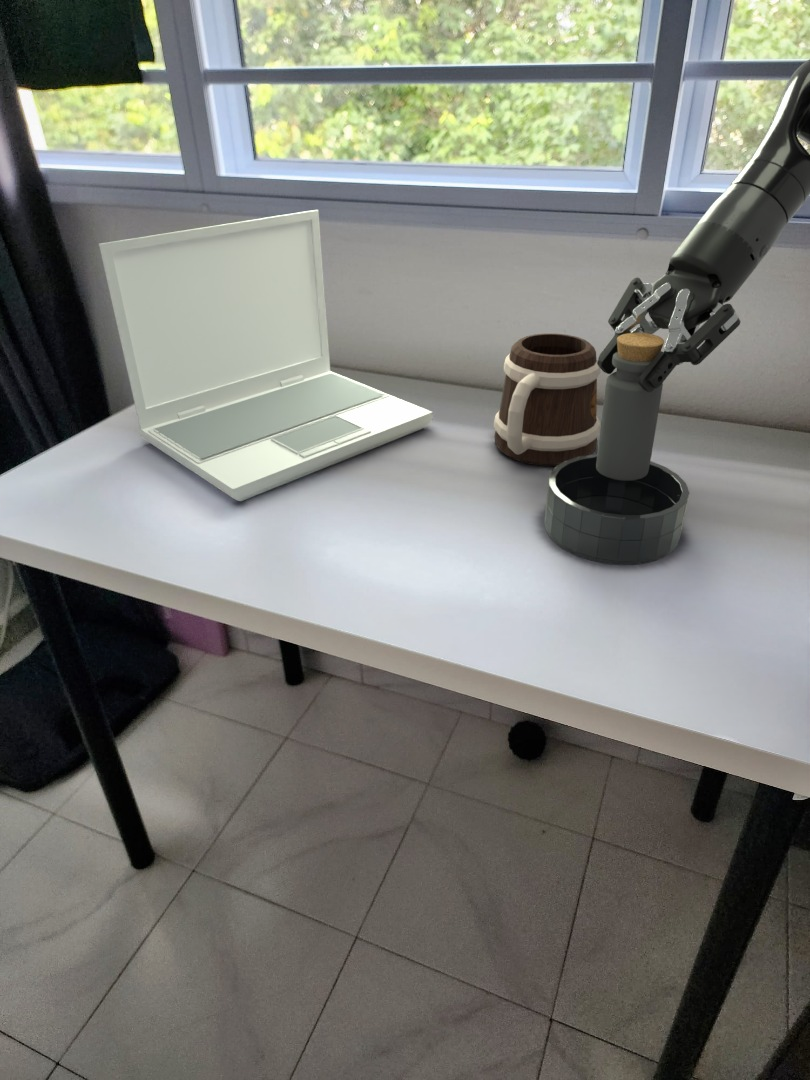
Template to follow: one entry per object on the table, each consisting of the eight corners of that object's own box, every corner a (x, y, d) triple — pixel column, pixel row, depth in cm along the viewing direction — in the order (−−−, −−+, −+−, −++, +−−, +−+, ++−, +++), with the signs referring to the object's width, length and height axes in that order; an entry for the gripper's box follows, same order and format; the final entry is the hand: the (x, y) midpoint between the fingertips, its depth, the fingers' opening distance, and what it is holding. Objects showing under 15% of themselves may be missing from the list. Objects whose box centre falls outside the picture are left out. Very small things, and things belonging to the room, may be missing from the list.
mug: (518, 417, 118) (525, 321, 109) (611, 437, 111) (626, 337, 103) (458, 467, 103) (460, 362, 95) (561, 494, 97) (573, 383, 88)
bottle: (585, 464, 86) (599, 335, 78) (626, 454, 88) (644, 327, 80) (617, 485, 82) (636, 351, 74) (659, 474, 84) (682, 342, 76)
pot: (701, 523, 90) (711, 479, 87) (640, 582, 80) (649, 534, 77) (586, 484, 99) (591, 442, 96) (519, 532, 89) (522, 488, 86)
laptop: (235, 507, 95) (198, 277, 80) (141, 443, 112) (96, 243, 96) (432, 427, 115) (433, 230, 99) (327, 383, 131) (314, 209, 116)
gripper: (660, 209, 80) (561, 339, 81) (775, 230, 69) (657, 379, 71) (687, 255, 85) (593, 377, 86) (798, 282, 74) (688, 420, 76)
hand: (623, 377), depth 78 cm, fingers closed on bottle, 5 cm apart
